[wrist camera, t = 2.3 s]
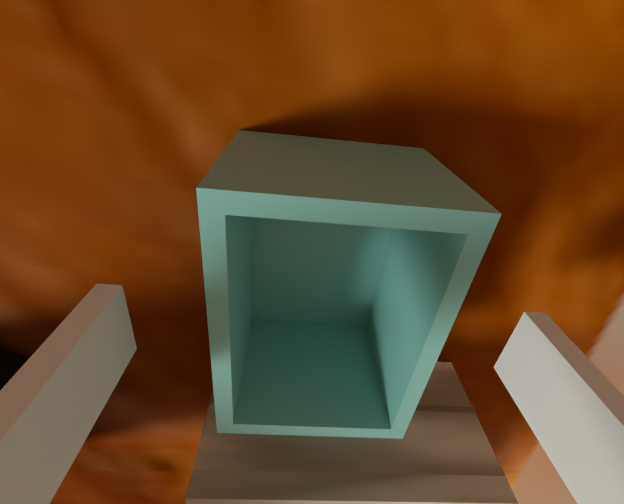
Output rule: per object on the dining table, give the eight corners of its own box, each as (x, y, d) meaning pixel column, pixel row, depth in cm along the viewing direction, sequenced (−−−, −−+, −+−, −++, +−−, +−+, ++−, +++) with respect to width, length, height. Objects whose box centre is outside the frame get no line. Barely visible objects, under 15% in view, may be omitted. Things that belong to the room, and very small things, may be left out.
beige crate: (222, 350, 18) (183, 498, 12) (452, 361, 19) (520, 502, 13) (229, 489, 27) (209, 617, 21) (389, 492, 28) (413, 615, 22)
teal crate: (239, 128, 12) (196, 187, 7) (422, 147, 13) (501, 213, 8) (241, 319, 17) (216, 432, 12) (373, 326, 18) (402, 438, 13)
